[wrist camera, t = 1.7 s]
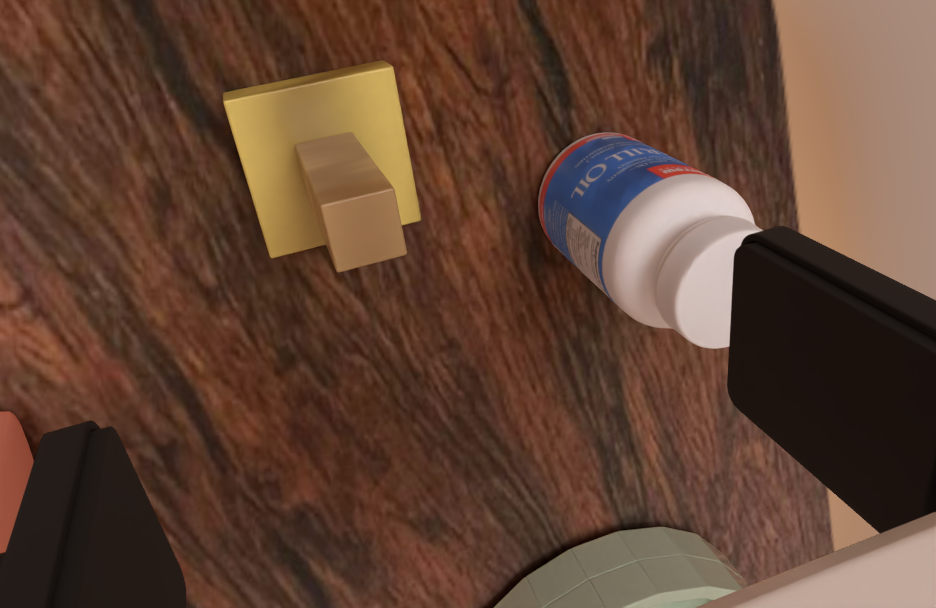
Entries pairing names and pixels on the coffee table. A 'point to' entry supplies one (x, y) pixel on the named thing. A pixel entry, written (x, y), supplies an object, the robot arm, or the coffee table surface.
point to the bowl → (630, 573)
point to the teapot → (12, 473)
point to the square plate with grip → (328, 163)
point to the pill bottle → (648, 232)
